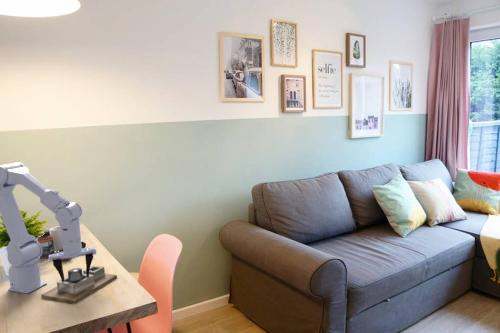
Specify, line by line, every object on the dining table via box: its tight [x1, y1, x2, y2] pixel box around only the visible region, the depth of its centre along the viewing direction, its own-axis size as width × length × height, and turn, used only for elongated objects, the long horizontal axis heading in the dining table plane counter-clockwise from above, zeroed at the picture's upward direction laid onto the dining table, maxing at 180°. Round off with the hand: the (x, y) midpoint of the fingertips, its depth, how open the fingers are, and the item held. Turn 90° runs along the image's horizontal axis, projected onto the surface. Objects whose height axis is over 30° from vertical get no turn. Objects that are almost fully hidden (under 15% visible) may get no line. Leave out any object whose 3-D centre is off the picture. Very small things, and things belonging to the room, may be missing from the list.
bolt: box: [57, 241, 87, 262], centre depth 163 cm, size 6×5×15 cm
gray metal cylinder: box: [67, 267, 83, 283], centre depth 128 cm, size 4×4×6 cm
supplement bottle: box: [36, 229, 56, 259], centre depth 161 cm, size 6×6×11 cm
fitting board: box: [41, 265, 118, 304], centre depth 131 cm, size 14×20×4 cm
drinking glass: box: [49, 225, 63, 251], centre depth 169 cm, size 7×7×10 cm
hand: (75, 277), depth 128 cm, fingers open, 7 cm apart
